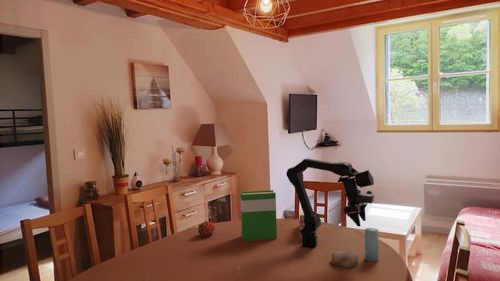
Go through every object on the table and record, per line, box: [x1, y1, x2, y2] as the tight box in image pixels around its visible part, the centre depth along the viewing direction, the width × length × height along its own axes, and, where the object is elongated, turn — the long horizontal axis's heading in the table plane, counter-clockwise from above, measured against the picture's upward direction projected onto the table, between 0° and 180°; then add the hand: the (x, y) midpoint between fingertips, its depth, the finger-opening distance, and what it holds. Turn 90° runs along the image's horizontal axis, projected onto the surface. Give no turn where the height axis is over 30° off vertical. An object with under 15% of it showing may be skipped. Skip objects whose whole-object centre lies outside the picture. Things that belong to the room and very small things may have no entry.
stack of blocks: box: [298, 208, 305, 239], centre depth 202 cm, size 21×6×12 cm, turn 170°
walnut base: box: [331, 250, 359, 269], centre depth 159 cm, size 11×11×3 cm
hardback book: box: [239, 189, 278, 242], centre depth 194 cm, size 18×7×24 cm, turn 96°
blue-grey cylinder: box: [364, 227, 379, 262], centre depth 161 cm, size 6×6×13 cm
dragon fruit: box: [197, 220, 216, 238], centre depth 201 cm, size 8×8×12 cm
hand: (361, 223), depth 166 cm, fingers open, 9 cm apart
